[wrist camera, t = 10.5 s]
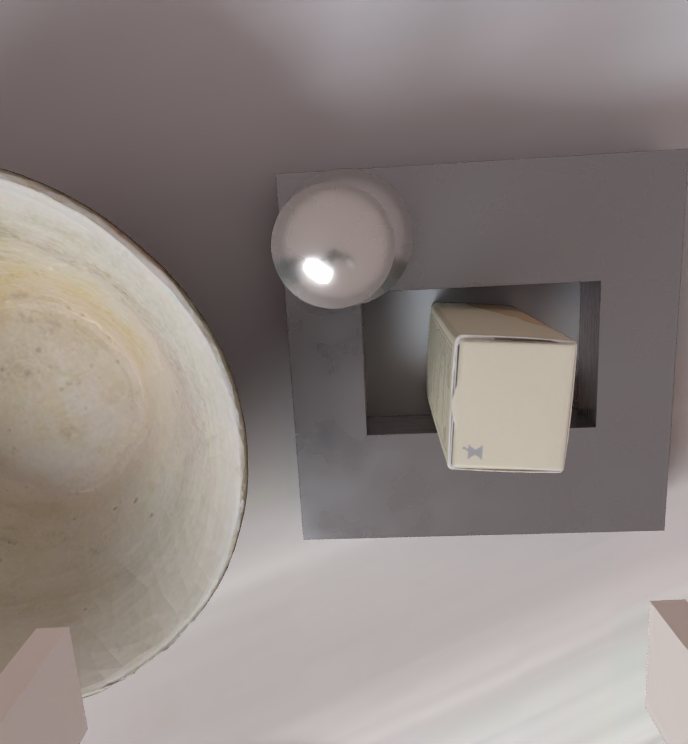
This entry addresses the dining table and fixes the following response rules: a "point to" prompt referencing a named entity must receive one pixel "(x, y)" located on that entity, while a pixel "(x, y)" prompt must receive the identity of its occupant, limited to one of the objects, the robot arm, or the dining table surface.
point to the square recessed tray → (497, 268)
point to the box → (499, 388)
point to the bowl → (107, 440)
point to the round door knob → (342, 239)
